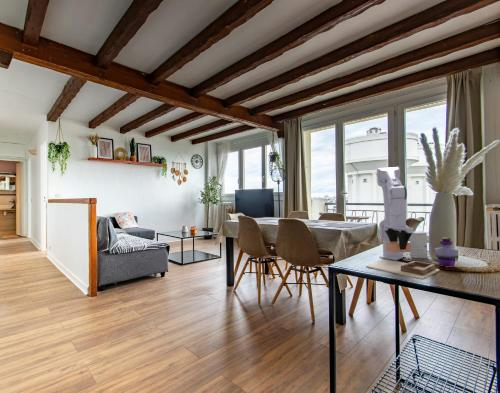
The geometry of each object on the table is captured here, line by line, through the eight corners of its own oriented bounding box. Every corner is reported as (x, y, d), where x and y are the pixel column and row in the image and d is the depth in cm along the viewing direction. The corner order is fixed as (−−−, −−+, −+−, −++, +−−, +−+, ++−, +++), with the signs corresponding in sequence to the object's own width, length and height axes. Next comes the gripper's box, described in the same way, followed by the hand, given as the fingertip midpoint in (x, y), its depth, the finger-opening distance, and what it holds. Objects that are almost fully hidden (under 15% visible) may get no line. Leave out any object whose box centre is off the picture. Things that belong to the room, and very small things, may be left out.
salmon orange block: (386, 250, 115) (386, 242, 115) (402, 249, 117) (402, 240, 117) (393, 252, 111) (393, 244, 111) (411, 251, 112) (410, 242, 112)
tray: (414, 265, 116) (414, 260, 116) (435, 269, 110) (435, 264, 110) (400, 271, 109) (400, 266, 109) (422, 275, 103) (422, 270, 103)
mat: (385, 260, 127) (385, 259, 127) (439, 270, 110) (439, 269, 110) (366, 267, 118) (366, 265, 118) (422, 279, 100) (422, 277, 100)
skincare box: (416, 258, 129) (415, 233, 128) (409, 256, 133) (408, 231, 133) (428, 257, 130) (427, 232, 129) (421, 255, 134) (420, 230, 134)
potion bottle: (464, 269, 110) (463, 239, 110) (440, 268, 112) (439, 239, 112) (452, 263, 119) (452, 236, 119) (430, 263, 120) (430, 236, 120)
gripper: (420, 216, 107) (420, 250, 107) (393, 213, 121) (394, 244, 122) (404, 217, 106) (405, 252, 106) (379, 214, 120) (380, 245, 120)
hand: (398, 248), depth 114 cm, fingers closed on salmon orange block, 4 cm apart
